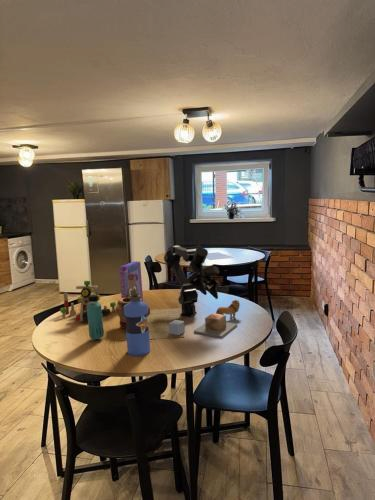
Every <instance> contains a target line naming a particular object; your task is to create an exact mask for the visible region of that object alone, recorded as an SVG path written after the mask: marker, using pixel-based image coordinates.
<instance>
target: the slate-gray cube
mask: <svg viewBox="0 0 375 500" xmlns="http://www.w3.org/2000/svg"><path fill="white" fill-rule="evenodd" d="M185 327H186V325H185V321H184V320H178V319H173V321H172V320H171V321H170V322H169V323H168V331H169V334H170V335H173V334H174V336H178V335H179V336H180V334H181V335H182V334H184V333H185V332H186V329H185Z"/></svg>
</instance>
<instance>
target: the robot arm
mask: <svg viewBox="0 0 375 500" xmlns="http://www.w3.org/2000/svg"><path fill="white" fill-rule="evenodd" d="M208 253H209V252H208V250H207V249H206V248H205V247H202V246H201V245H197V246H196V248H192V249H188V248H185V247H183V246H181V245H172V246H170V249H168V250H167V251H166V252H165V254H164V256H163V260H164V262H165V264H166V266H167V267H169V268H171V269H172V271H173V274H174V277H175V278H176V281H177V283H178V285H179V287H180V288H179V289H180V291H179V292H180V293H179V297H178V299H177V301H178V303H179V305H181V313H180V316H184V317H192V316H194V315H195V314H197V311H196V303H198V297H199V293H198V291H199V292H200V293H202V295H205V296H206V295H207V293H209V294H210V295H211V296H212V297H213V298H214V299H216V300H218V299H219V293H218V288H219V287H220V286H221V283H220V281H219V280H216V279H213V278H212V277H213V276H218V275H219V274H220V270H219V268H218V267H217V266H215V265H210V266H207V267H204V265H203V264H204V263H205V261H206V259H207V257H208V255H209V254H208ZM181 258H182V260H183V261H184V262H186V263H188V262H189V266H188V269H189V270H191V271H192V274H191V275H190V276H188V278H187V276H186V274H185V272H184V271H183V268H182V266H181V264H180V263H181ZM211 279H212V280H211ZM197 290H198V291H197Z"/></svg>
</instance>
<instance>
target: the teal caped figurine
mask: <svg viewBox="0 0 375 500" xmlns="http://www.w3.org/2000/svg"><path fill="white" fill-rule="evenodd" d="M97 295H98V294H96V295H91V296H89V297H88V301H89V302H92V303H89V304H88V305H87V315H88V322H87V326H88V327H87V328H88V336H89V339H90V340H99V339H101V338H103V337H104V335H105V329H104V322H103V321H104V320H103V314H102V309H103V308H102V303H100V302H99V300H98V296H97ZM94 301H98V302H94Z"/></svg>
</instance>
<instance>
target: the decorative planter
mask: <svg viewBox="0 0 375 500" xmlns="http://www.w3.org/2000/svg"><path fill="white" fill-rule="evenodd" d="M140 301H142V302H144V301H143V300H142V299H141V300H140ZM129 302H130V297H128V298H122V297H121V298H120V299H118V300H117V302H116V303H117V304H116V306H115V314H116V315H117V316H118V317H119V325H120V328H121V329H122V330H125V331H126V326H127V324H126V319H125V315H124V305H126V304H128V303H129ZM150 314H151V309H150V307H149V306H148V316H147V318H148V317H149V316H150Z"/></svg>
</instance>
